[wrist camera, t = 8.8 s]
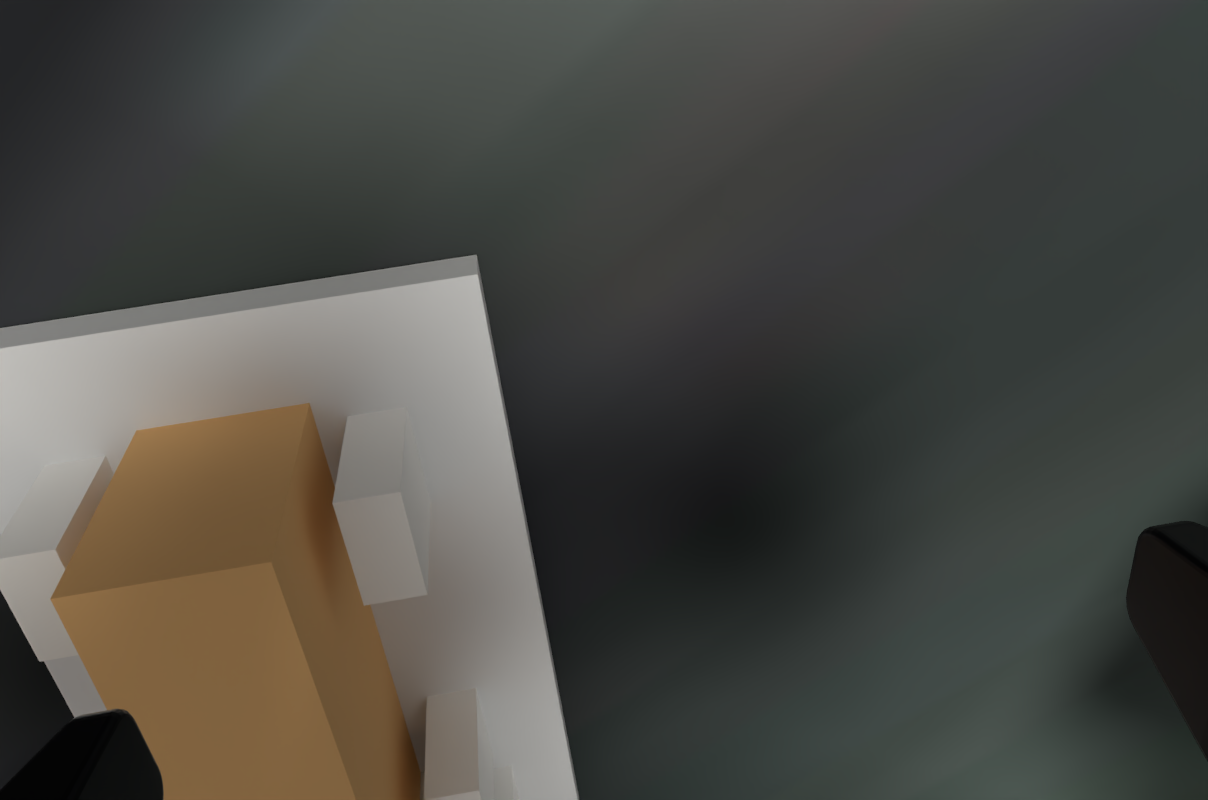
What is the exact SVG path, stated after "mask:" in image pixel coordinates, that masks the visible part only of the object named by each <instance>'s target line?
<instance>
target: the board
mask: <svg viewBox="0 0 1208 800" xmlns="http://www.w3.org/2000/svg"><path fill="white" fill-rule="evenodd" d="M306 403H310V406H311V409H312V413H313V416H314V419H315V423H316V426H317V429H318V433H319V436H320V439H321V443H322V446H323V449H324V453H325V456H326V459H327V463H328V466H329V469H330V473H331V476H332V479H333V482H334V486H335V491H334V497H333V503H332V504H333V507H334V510H335V513H336V517H337V520H338V523H339V526H340V530H341V533H342V536H343V539H344V543H345V546H346V549H347V552H348V556H349V559H350V562H351V565H352V569H353V572H354V575H355V578H356V582H357V585H358V588H359V591H360V594H361V598H362V601H363V604H364V606H365V605H371V609H372V612H373V615H374V619H375V622H376V625H377V629H378V632H379V635H380V639H381V642H382V645H383V649H384V652H385V655H386V659H387V662H388V665H389V668H390V672H391V675H392V678H393V682H394V685H395V688H396V692H397V695H398V698H399V702H400V705H401V708H402V712H403V715H404V718H405V722H406V725H407V728H408V732H409V735H410V738H411V742H412V745H413V748H414V752H415V755H416V758H417V761H418V765H419V768H420V771H421V772H425V781H424V800H579V795H578V789H577V784H576V779H575V773H574V768H573V763H572V757H571V752H570V747H569V742H568V736H567V731H566V726H565V720H564V715H563V710H562V705H561V699H560V694H559V689H558V683H557V678H556V673H555V667H554V662H553V657H552V652H551V646H550V641H549V636H548V630H547V625H546V620H545V614H544V609H543V604H542V599H541V593H540V588H539V583H538V577H537V572H536V567H535V561H534V556H533V551H532V546H531V540H530V535H529V530H528V524H527V519H526V514H525V509H524V503H523V498H522V493H521V487H520V482H519V477H518V471H517V466H516V461H515V456H514V450H513V445H512V440H511V434H510V429H509V424H508V418H507V413H506V408H505V403H504V397H503V392H502V387H501V381H500V376H499V371H498V366H497V360H496V355H495V350H494V344H493V339H492V334H491V328H490V323H489V318H488V313H487V307H486V302H485V297H484V291H483V286H482V281H481V275H480V270H479V265H478V260H477V255H471V256H464V257H458V258H451V259H445V260H439V261H432V262H426V263H419V264H413V265H406V266H400V267H393V268H387V269H380V270H374V271H367V272H361V273H354V274H348V275H341V276H335V277H329V278H322V279H316V280H309V281H303V282H296V283H290V284H283V285H277V286H270V287H264V288H257V289H251V290H244V291H238V292H231V293H225V294H218V295H212V296H205V297H199V298H193V299H186V300H180V301H173V302H167V303H160V304H154V305H147V306H141V307H134V308H128V309H121V310H115V311H108V312H102V313H95V314H89V315H82V316H76V317H70V318H63V319H57V320H50V321H44V322H37V323H31V324H24V325H18V326H11V327H5V328H0V590H1V592H2V594H3V596H4V598H5V600H6V601H7V603H8V605H9V607H10V609H11V611H12V612H13V614H14V616H15V618H16V620H17V622H18V623H19V625H20V627H21V629H22V631H23V633H24V634H25V636H26V638H27V640H28V642H29V644H30V645H31V647H32V649H33V651H34V653H35V655H36V656H37V658H38V660H39V662H41V661H44V662H45V664H46V666H47V668H48V670H49V672H50V673H51V675H52V677H53V679H54V681H55V683H56V684H57V686H58V688H59V690H60V692H61V694H62V696H63V697H64V699H65V701H66V703H67V705H68V707H69V708H70V710H71V712H72V714H73V716H74V718H75V717H77V716H80V715H83V714H89V713H95V712H100V711H106V710H107V709H106V707H105V705H104V703H103V701H102V699H101V697H100V695H99V693H98V691H97V689H96V687H95V686H94V684H93V682H92V680H91V678H90V676H89V674H88V672H87V670H86V668H85V666H84V664H83V662H82V660H81V658H80V656H79V654H78V652H77V650H76V648H75V646H74V645H73V643H72V641H71V639H70V637H69V635H68V633H67V631H66V629H65V627H64V625H63V623H62V621H61V619H60V617H59V615H58V613H57V611H56V609H55V607H54V606H53V604H52V602H51V600H50V599H51V597H52V595H53V593H54V591H55V589H56V587H57V585H58V583H59V581H60V579H61V577H62V575H63V573H64V571H65V569H66V567H67V565H68V563H69V561H70V559H71V557H72V556H73V554H74V552H75V550H76V548H77V546H78V544H79V542H80V540H81V538H82V536H83V534H84V532H85V530H86V528H87V526H88V524H89V522H90V520H91V518H92V516H93V514H94V512H95V511H96V509H97V507H98V505H99V503H100V501H101V499H102V497H103V495H104V493H105V491H106V489H107V487H108V485H109V483H110V481H111V479H112V477H113V475H114V473H115V471H116V469H117V467H118V466H119V464H120V462H121V460H122V458H123V456H124V454H125V452H126V450H127V448H128V446H129V444H130V442H131V440H132V438H133V436H134V434H135V432H136V430H143V429H149V428H155V427H161V426H168V425H174V424H180V423H186V422H193V421H199V420H205V419H212V418H218V417H224V416H230V415H237V414H243V413H249V412H256V411H262V410H268V409H274V408H281V407H287V406H293V405H299V404H306Z"/></svg>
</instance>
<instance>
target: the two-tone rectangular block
mask: <svg viewBox="0 0 1208 800" xmlns="http://www.w3.org/2000/svg"><path fill="white" fill-rule="evenodd" d="M334 491H335V486H334V482H333V479H332V476H331V473H330V469H329V466H328V463H327V459H326V456H325V453H324V449H323V446H322V443H321V439H320V436H319V433H318V429H317V426H316V423H315V419H314V416H313V413H312V409H311V406H310V403H306V404H299V405H293V406H287V407H281V408H274V409H268V410H262V411H256V412H249V413H243V414H237V415H230V416H224V417H218V418H212V419H205V420H199V421H193V422H186V423H180V424H174V425H168V426H161V427H155V428H149V429H143V430H136V432H135V434H134V436H133V438H132V440H131V442H130V444H129V446H128V448H127V450H126V452H125V454H124V456H123V458H122V460H121V462H120V464H119V466H118V467H117V469H116V471H115V473H114V475H113V477H112V479H111V481H110V483H109V485H108V487H107V489H106V491H105V493H104V495H103V497H102V499H101V501H100V503H99V505H98V507H97V509H96V511H95V512H94V514H93V516H92V518H91V520H90V522H89V524H88V526H87V528H86V530H85V532H84V534H83V536H82V538H81V540H80V542H79V544H78V546H77V548H76V550H75V552H74V554H73V556H72V557H71V559H70V561H69V563H68V565H67V567H66V569H65V571H64V573H63V575H62V577H61V579H60V581H59V583H58V585H57V587H56V589H55V591H54V593H53V595H52V597H51V599H50V600H51V602H52V604H53V606H54V607H55V609H56V611H57V613H58V615H59V617H60V619H61V621H62V623H63V625H64V627H65V629H66V631H67V633H68V635H69V637H70V639H71V641H72V643H73V645H74V646H75V648H76V650H77V652H78V654H79V656H80V658H81V660H82V662H83V664H84V666H85V668H86V670H87V672H88V674H89V676H90V678H91V680H92V682H93V684H94V686H95V687H96V689H97V691H98V693H99V695H100V697H101V699H102V701H103V703H104V705H105V707H106V709H107V710H112V709H124V710H126V711H128V712H129V713H130V714H131V715H132V716H133V718H134V719H135V721H136V723H137V725H138V727H139V729H140V731H141V733H142V735H143V737H144V739H145V741H146V743H147V745H148V747H149V749H150V751H151V753H152V755H153V757H154V759H155V761H156V763H157V765H158V767H159V770H160V772H161V776H162V780H163V791H164V797H163V800H424V781H425V772H421V771H420V768H419V765H418V761H417V758H416V755H415V752H414V748H413V745H412V742H411V738H410V735H409V732H408V728H407V725H406V722H405V718H404V715H403V712H402V708H401V705H400V702H399V698H398V695H397V692H396V688H395V685H394V682H393V678H392V675H391V672H390V668H389V665H388V662H387V659H386V655H385V652H384V649H383V645H382V642H381V639H380V635H379V632H378V629H377V625H376V622H375V619H374V615H373V612H372V609H371V605H365V606H364V604H363V601H362V598H361V594H360V591H359V588H358V585H357V582H356V578H355V575H354V572H353V569H352V565H351V562H350V559H349V556H348V552H347V549H346V546H345V543H344V539H343V536H342V533H341V530H340V526H339V523H338V520H337V517H336V513H335V510H334V507H333V504H332V503H333V497H334Z"/></svg>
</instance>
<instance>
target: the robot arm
mask: <svg viewBox="0 0 1208 800" xmlns="http://www.w3.org/2000/svg"><path fill="white" fill-rule="evenodd" d="M1126 603H1127V610H1128V614H1129V617H1130V620H1131V622H1132V624H1133V626H1134V628H1135V630H1136V632H1137V634H1138V636H1139V637H1140V639H1141V641H1142V643H1143V645H1144V647H1145V648H1146V650H1147V652H1148V654H1149V656H1150V658H1151V659H1152V661H1153V663H1154V665H1155V667H1156V669H1157V670H1158V672H1159V674H1160V676H1161V678H1162V680H1163V681H1164V683H1165V685H1166V687H1167V689H1168V691H1169V692H1170V694H1171V696H1172V698H1173V700H1174V702H1175V703H1176V705H1177V707H1178V709H1179V711H1180V713H1181V714H1182V716H1183V718H1184V720H1185V722H1186V723H1187V725H1188V727H1189V729H1190V731H1191V733H1192V734H1193V736H1194V738H1195V740H1196V742H1197V744H1198V745H1199V747H1200V749H1201V751H1202V752H1203V754H1204V756H1205V758H1206V759H1207V761H1208V528H1207V527H1205V526H1203V525H1200V524H1197V523H1195V522H1190V521H1180V522H1175V523H1169V524H1163V525H1158V526H1152V527H1149V528H1147V529H1145V530H1144V531H1143V532H1142V533H1141V534H1140V536H1139V537H1138V540H1137V544H1136V549H1135V554H1134V559H1133V564H1132V569H1131V574H1130V579H1129V584H1128V589H1127V595H1126ZM163 797H164V791H163V780H162V776H161V772H160V770H159V767H158V765H157V763H156V761H155V759H154V757H153V755H152V753H151V751H150V749H149V747H148V745H147V743H146V741H145V739H144V737H143V735H142V733H141V731H140V729H139V727H138V725H137V723H136V721H135V719H134V718H133V716H132V715H131V714H130V713H129V712H128V711H126V710H124V709H112V710H106V711H100V712H95V713H89V714H83V715H80V716H77V717H75V718H73V719H72V720H70V721H69V722H68V723H67V724H66V725H65V726H64V727H63V728H62V729H61V730H60V731H59V732H58V733H57V734H56V735H55V736H54V737H53V738H52V739H51V740H50V741H49V742H48V743H47V744H46V745H45V746H44V747H43V748H42V749H41V750H40V751H39V752H38V753H37V754H36V755H35V756H34V757H33V758H32V759H31V760H30V761H29V762H28V763H27V764H26V765H25V766H24V767H23V768H22V769H21V770H20V771H19V772H18V773H17V774H16V775H15V776H14V777H13V778H12V779H11V780H10V781H9V782H8V783H7V784H6V785H5V786H4V787H3V788H2V789H1V790H0V800H163Z"/></svg>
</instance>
